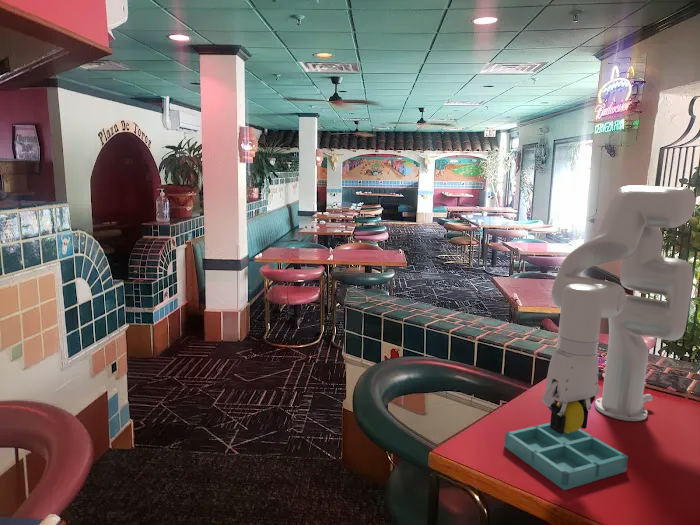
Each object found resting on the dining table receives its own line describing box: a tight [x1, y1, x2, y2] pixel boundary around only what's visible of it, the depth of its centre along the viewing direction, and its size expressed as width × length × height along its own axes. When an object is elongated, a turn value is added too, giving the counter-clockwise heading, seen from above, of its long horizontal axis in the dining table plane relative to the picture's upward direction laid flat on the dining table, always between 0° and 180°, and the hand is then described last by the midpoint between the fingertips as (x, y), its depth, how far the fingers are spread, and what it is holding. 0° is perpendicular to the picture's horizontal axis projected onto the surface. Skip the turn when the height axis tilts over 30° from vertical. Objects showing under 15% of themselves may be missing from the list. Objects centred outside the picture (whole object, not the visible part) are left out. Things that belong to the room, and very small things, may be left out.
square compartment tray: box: [504, 422, 629, 491], centre depth 116 cm, size 18×18×4 cm
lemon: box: [557, 401, 584, 434], centre depth 109 cm, size 6×6×8 cm
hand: (568, 427), depth 109 cm, fingers closed on lemon, 5 cm apart
